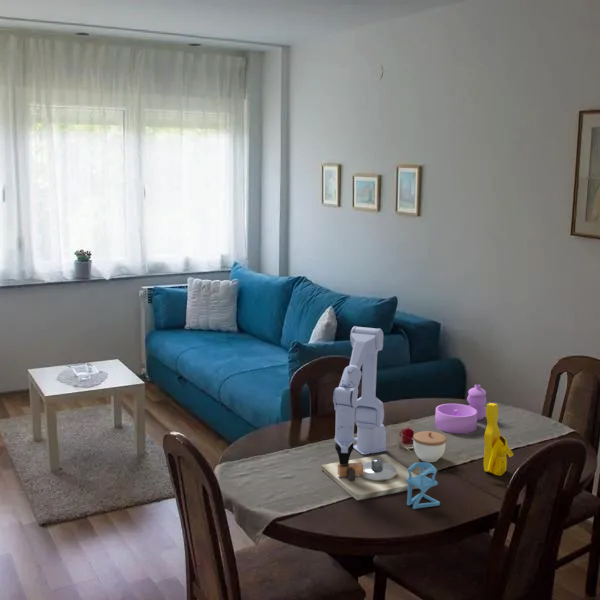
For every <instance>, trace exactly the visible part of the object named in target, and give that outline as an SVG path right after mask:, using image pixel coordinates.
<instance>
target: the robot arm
mask: <svg viewBox="0 0 600 600" xmlns="http://www.w3.org/2000/svg"><path fill="white" fill-rule="evenodd" d="M349 338H350V339H349V340H350V344H351V347H352V351H351V356H350V360H349V364H348V365H347V366H346V367H345V368H344V369H343V372H342V376H341V379H340V382H339V385H338V387H335V388H334V390H333V396H332V402H333V405H334V406H333V407H334V408H333V409H334V411H335V425H334V426H335V427H334V428H335V432H334V433H335V435H334V442H335V445H334V448H335V451H336V453H337V456H338V460H339V461H338V462H340V464H348V462H349V460H350V457H351V454H352V452H353V451H354V450H356V451H357V452H358V453H360V454H361V455H362V456H363V455H370V453H371V454H377V453H381V452H387V448H386V447H387V445H386V443H387V430H386V427H385V425H384V424H383V423H384V418H385V410H384V403H383V401H381V400H380V399H379V398H378V397H377V396H376V391H377V371H378V370H377V367H378V366H377V365H378V353H379V351H383V348H384V332H383V330H382V329H381V328H380V327H379V328H373V327H363V326H357V325H354V326H353V327H352V328H351V330H350V335H349ZM361 369H362V371H361ZM360 381H361V396H360V397H359V398H358V396H359V385H360ZM355 426H357V431H356V437H354V436H355ZM354 442H355V443H356V444H354Z"/></svg>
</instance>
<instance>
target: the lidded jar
mask: <svg viewBox="0 0 600 600" xmlns="http://www.w3.org/2000/svg"><path fill="white" fill-rule="evenodd" d="M412 439H413V450H414V452H415V454H416V456H417V457H418V458H419V460H420V459H421V460H420V461H421V462H428V463H436V462H437V461H439V459H440V458H442V456H443V455H444V452H445V450H446V442H447V437H446V436H445V435H444V434H443V433H440V432H437V431H430V430H423V431H417V432H415V433H414V434H413V437H412Z"/></svg>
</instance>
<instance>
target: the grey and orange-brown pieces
mask: <svg viewBox="0 0 600 600" xmlns="http://www.w3.org/2000/svg"><path fill="white" fill-rule="evenodd" d="M350 469H354V470H355V475H359V476H360V477H362V478H364V479H367V480H371V481H387V480H391V479H393V478H395V477H396V468H395V467H394V466H392V465H390V464H387V463H383V460H382V459H380V458H374V459H372V461H371V462H367V463H363V464H362V463H361V462H358V463H348V464H338V475H339V476H340V477H343V476H349V470H350Z"/></svg>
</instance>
